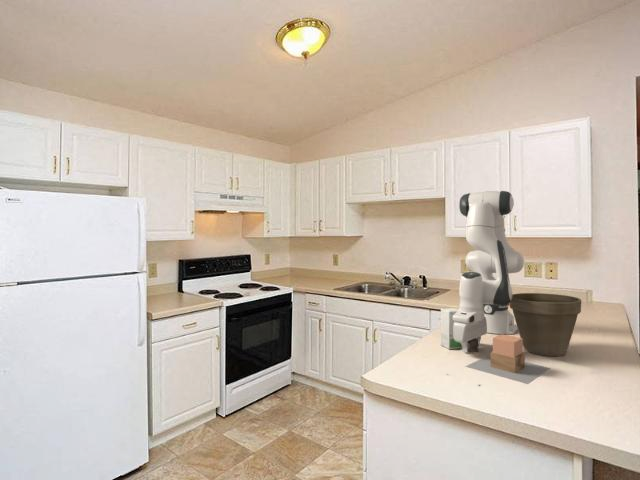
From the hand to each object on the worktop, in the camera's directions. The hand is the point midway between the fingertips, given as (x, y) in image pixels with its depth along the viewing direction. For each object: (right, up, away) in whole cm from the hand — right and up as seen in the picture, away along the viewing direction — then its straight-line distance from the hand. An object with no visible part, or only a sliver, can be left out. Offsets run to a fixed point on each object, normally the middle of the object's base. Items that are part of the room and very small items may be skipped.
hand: (471, 349), depth 145 cm
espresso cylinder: (0, -2, 0) cm, 2 cm away
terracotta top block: (+5, +4, -18) cm, 19 cm away
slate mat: (+5, -2, -18) cm, 19 cm away
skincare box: (-4, -2, +10) cm, 11 cm away
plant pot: (+31, -2, +4) cm, 31 cm away
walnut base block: (+5, -1, -18) cm, 19 cm away
